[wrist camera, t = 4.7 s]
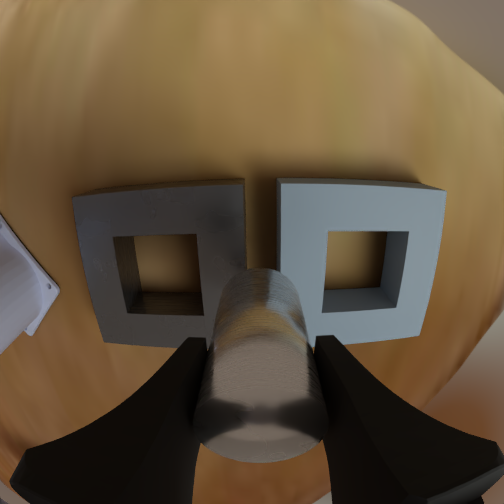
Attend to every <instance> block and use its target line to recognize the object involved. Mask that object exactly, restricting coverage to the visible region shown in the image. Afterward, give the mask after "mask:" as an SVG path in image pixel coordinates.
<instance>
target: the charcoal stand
mask: <svg viewBox="0 0 504 504" xmlns="http://www.w3.org/2000/svg"><path fill="white" fill-rule="evenodd" d="M72 202H73V210H74V217H75V223H76V230H77V235H78V241H79V247H80V252H81V257H82V262H83V266H84V271H85V275H86V280H87V284H88V288H89V292H90V296H91V300H92V303H93V307H94V311H95V314H96V318H97V321H98V324H99V328H100V331H101V334H102V337H103V341H104V342H107V343H117V344H128V345H140V346H153V347H170V348H179V346H180V345H181V344H182V343H183V342H184V341H185V340H186V339H187V338H188V337H204V338H206V343H207V349H209V344H210V340H211V335H212V331H213V326H214V322H215V318H216V313H217V309H218V305H219V300H220V296H221V292H222V290H223V288H224V286H225V285H226V283H227V282H228V281H229V280H230V279H231V278H232V277H233V276H235V275H236V274H238V273H240V272H242V271H244V270H247V249H246V214H245V179H219V180H197V181H180V182H166V183H153V184H141V185H130V186H120V187H111V188H102V189H95V190H92V191H89V192H86V193H83V194H80V195H77V196H74V197H72ZM172 234H197V246H198V258H199V269H200V279H201V289H202V293H175V292H142V288H141V282H140V277H139V271H138V265H137V259H136V252H135V245H134V238H133V236H143V235H172Z"/></svg>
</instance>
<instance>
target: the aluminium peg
mask: <svg viewBox="0 0 504 504" xmlns="http://www.w3.org/2000/svg"><path fill="white" fill-rule="evenodd" d="M328 427H329V419H328V414H327V409H326V405H325V400H324V396H323V392H322V387H321V383H320V379H319V375H318V370H317V366H316V362H315V358H314V354H313V350H312V346H311V342H310V338H309V334H308V330H307V326H306V322H305V318H304V314H303V310H302V306H301V302H300V298H299V295H298V291H297V289H296V287H295V285H294V284H293V283H292V281H291V280H290V279H289V278H288V277H286V276H285V275H283V274H282V273H280V272H278V271H275V270H272V269H268V268H252V269H247V270H244V271H242V272H240V273H238V274H236V275H235V276H233V277H232V278H231V279H230V280H229V281H228V282H227V283H226V285H225V286H224V288H223V290H222V292H221V296H220V300H219V305H218V309H217V313H216V318H215V322H214V326H213V331H212V335H211V340H210V344H209V349H208V353H207V358H206V362H205V367H204V371H203V376H202V381H201V385H200V390H199V394H198V399H197V404H196V409H195V413H194V418H193V430H194V433H195V435H196V437H197V438H198V439H199V441H200V442H201V443H202V444H203V445H204V446H206V447H207V448H208V449H210V450H211V451H213V452H215V453H217V454H219V455H221V456H224V457H227V458H230V459H233V460H238V461H243V462H253V463H266V462H276V461H282V460H286V459H290V458H293V457H296V456H298V455H301V454H303V453H305V452H307V451H309V450H310V449H312V448H313V447H314V446H316V445H317V444H318V443H319V442H320V441H321V440H322V439H323V438H324V436H325V435H326V433H327V430H328Z"/></svg>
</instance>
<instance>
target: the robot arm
mask: <svg viewBox="0 0 504 504" xmlns="http://www.w3.org/2000/svg"><path fill="white" fill-rule="evenodd" d="M1 224H2V225H1ZM49 284H50V285H51V286H50V285H49ZM59 292H60V289H59V287H58V285H57V284H56V283H55V282H54V281H53V280H52V279H51V278H50V277H49V275H48V274H47V273H46V272H45V271H44V270H43V269H42V267H41V266H40V265H39V264H38V263H37V262H36V260H35V259H34V258H33V257H32V256H31V254H30V253H29V252H28V251H27V249H26V248H25V247H24V246H23V244H22V243H21V242H20V240H19V239H18V238H17V237H16V235H15V234H14V233H13V231H12V230H11V229H10V227H9V226H8V225H7V223H6V222H5V220H4V219H3V218H2V216H1V215H0V354H1V353H2V352H3V351H4V350H5V349H6V348H7V347H8V346H9V345H10V344H11V343H12V342H13V341H14V340H15V339H16V338H17V337H18V336H19V335H20V334H21V333H22V332H23V331H25V332H26V333H27V334H28V335H29V336H32V335H33V334H34V333H35V331H36V329H37V327H38V326H39V324H40V322H41V321H42V319H43V318H44V316H45V314H46V313H47V311H48V310H49V308H50V306H51V305H52V303H53V302H54V300H55V299H56V297H57V296H58V294H59ZM207 353H208V351H207V343H206V338H204V337H188V338H187V339H186V340H185V341H184V342H183V343H182V344H181V345H180V346H179V348H178V349H177V350H176V351H175V352H174V353H173V355H172V356H171V357H170V358H169V359H168V360H167V361H166V362H165V363H164V364H163V366H162V367H161V368H160V369H159V370H158V371H157V372H156V373H155V374H154V375H153V376H152V377H151V378H150V379H149V380H148V381H147V382H146V383H145V384H143V385H142V386H141V387H140V388H139V389H138V390H137V391H136V392H135V393H134V394H132V395H131V396H130V397H129V398H128V399H126V400H125V401H124V402H122V403H121V404H120V405H118V406H117V407H116V408H114V409H113V410H112V411H110V412H108V413H107V414H105V415H104V416H102V417H100V418H99V419H97V420H95V421H94V422H92V423H90V424H89V425H87V426H85V427H83V428H81V429H79V430H77V431H75V432H73V433H71V434H69V435H66V436H64V437H62V438H59V439H57V440H54V441H51V442H48V443H45V444H42V445H39V446H36V447H33V448H30V449H27V450H26V451H25V453H24V455H23V457H22V458H21V460H20V462H19V464H18V466H17V467H16V469H15V471H14V473H13V475H12V477H11V479H10V484H11V487H12V488H13V489H14V490H15V491H16V492H17V493H18V494H19V495H20V496H21V497H22V498H24V499H25V500H26V501H27V502H29V503H30V504H192V496H193V485H194V476H195V466H196V461H197V456H198V451H199V447H200V443H201V442H200V441H199V439H198V438H197V437H196V435H195V433H194V430H193V418H194V413H195V409H196V404H197V399H198V394H199V390H200V385H201V381H202V376H203V371H204V367H205V362H206V358H207ZM314 358H315V362H316V366H317V370H318V375H319V379H320V383H321V387H322V392H323V396H324V400H325V405H326V409H327V414H328V419H329V427H328V430H327V433H326V435H325V436H324V438H323V443H324V447H325V451H326V455H327V460H328V465H329V474H330V483H331V493H332V504H484V502H483V499H482V497H481V495H483V494H484V493H485V492H486V491H487V490H488V489H489V488H490V487H491V486H493V485H494V484H495V483H496V482H497V481H498V480H499V479H500V478H501V477H502V476H503V475H504V455H503V453H502V451H501V450H500V448H499V446H498V445H497V443H496V442H494V441H491V440H487V439H484V438H480V437H477V436H474V435H470V434H468V433H465V432H462V431H460V430H457V429H455V428H453V427H450V426H448V425H446V424H444V423H442V422H440V421H437V420H436V419H434V418H432V417H430V416H428V415H427V414H425V413H423V412H421V411H420V410H418V409H416V408H415V407H413V406H412V405H410V404H409V403H407V402H406V401H404V400H403V399H401V398H400V397H399V396H397V395H396V394H395V393H393V392H392V391H391V390H389V389H388V388H387V387H386V386H385V385H383V384H382V383H381V382H380V381H379V380H378V379H376V378H375V377H374V376H373V375H372V374H371V373H370V372H369V371H368V370H367V369H366V368H365V367H364V366H363V365H362V364H361V363H360V362H359V361H358V360H357V359H356V358H355V357H354V356H353V355H352V354H351V353H350V352H349V351H348V350H347V349H346V347H345V346H344V345H343V344H342V343H341V342H340V341H339V340H338V339H337V338H336V337H335V336H334V335H321V336H316V340H315V349H314ZM0 504H8V503H7V502H5V501H4V500H2V499H1V498H0Z"/></svg>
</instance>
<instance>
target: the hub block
mask: <svg viewBox="0 0 504 504" xmlns="http://www.w3.org/2000/svg"><path fill="white" fill-rule="evenodd" d="M446 192H447V191H445V190H442V189H439V188H435V187H432V186H428V185H425V184H420V183H408V182H394V181H379V180H359V179H332V178H277V271H278V272H280V273H282V274H283V275H285V276H286V277H288V278H289V279H290V280H291V281H292V283H293V284H294V285H295V287H296V289H297V291H298V295H299V298H300V302H301V306H302V310H303V314H304V318H305V322H306V326H307V330H308V334H309V338H310V342H311V346H312V347H315V340H316V336H321V335H334V336H335V337H336V338H337V339H338V340H339V341H340V342H341V343H342V344H354V343H365V342H374V341H383V340H391V339H398V338H406V337H413V336H419V334H420V331H421V327H422V324H423V320H424V317H425V313H426V309H427V305H428V301H429V297H430V293H431V288H432V284H433V279H434V275H435V270H436V265H437V259H438V254H439V248H440V242H441V235H442V228H443V221H444V212H445V203H446ZM328 231H387V240H386V249H385V257H384V264H383V271H382V278H381V284H380V287H376V288H357V289H336V290H324V282H325V269H326V255H327V238H328Z"/></svg>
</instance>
